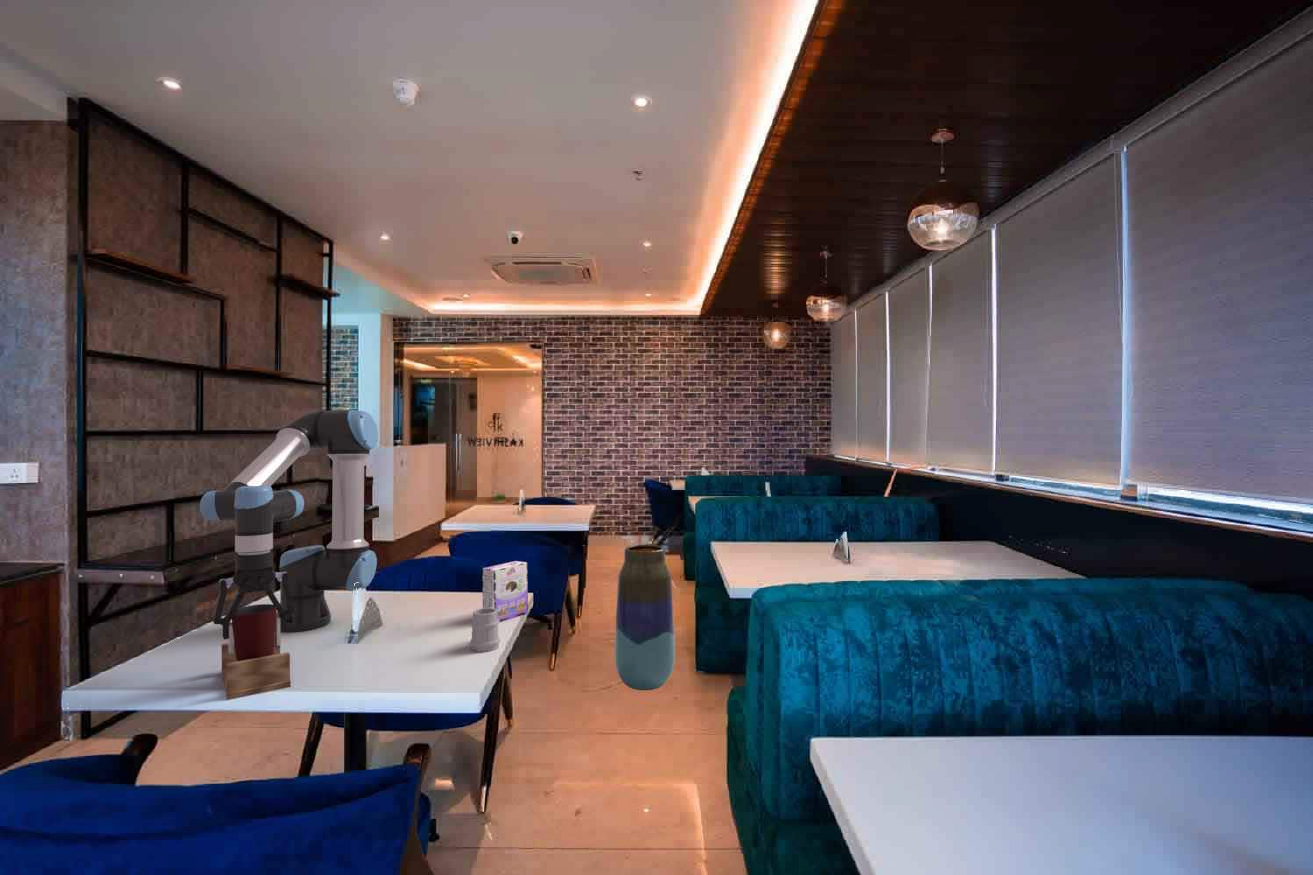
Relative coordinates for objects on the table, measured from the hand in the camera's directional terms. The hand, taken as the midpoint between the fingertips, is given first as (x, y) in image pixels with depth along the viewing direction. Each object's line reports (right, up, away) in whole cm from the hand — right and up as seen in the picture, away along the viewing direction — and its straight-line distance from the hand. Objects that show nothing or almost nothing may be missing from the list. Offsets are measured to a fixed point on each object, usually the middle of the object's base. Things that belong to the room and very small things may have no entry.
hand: (254, 647), depth 150 cm
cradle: (0, -7, 0) cm, 7 cm away
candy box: (+47, -7, +51) cm, 69 cm away
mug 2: (+48, -7, +24) cm, 54 cm away
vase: (+92, -7, -3) cm, 92 cm away
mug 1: (+1, -2, +1) cm, 2 cm away
